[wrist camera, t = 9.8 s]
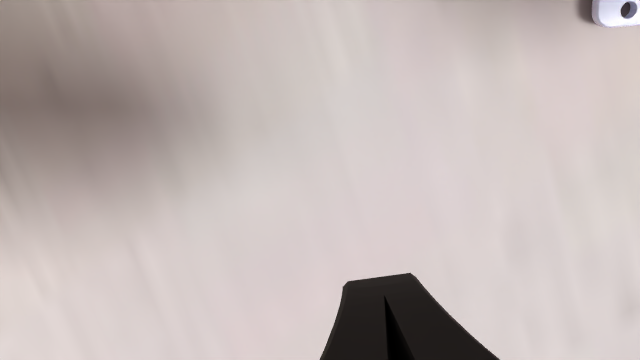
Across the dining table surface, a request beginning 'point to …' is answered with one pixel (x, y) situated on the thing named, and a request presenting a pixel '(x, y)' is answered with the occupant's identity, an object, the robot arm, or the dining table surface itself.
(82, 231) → the dining table surface
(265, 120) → the dining table surface
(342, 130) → the dining table surface
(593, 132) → the dining table surface
